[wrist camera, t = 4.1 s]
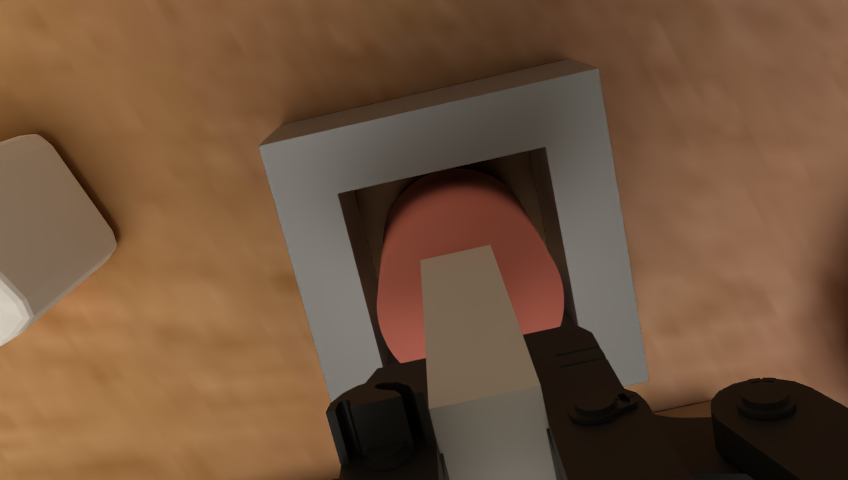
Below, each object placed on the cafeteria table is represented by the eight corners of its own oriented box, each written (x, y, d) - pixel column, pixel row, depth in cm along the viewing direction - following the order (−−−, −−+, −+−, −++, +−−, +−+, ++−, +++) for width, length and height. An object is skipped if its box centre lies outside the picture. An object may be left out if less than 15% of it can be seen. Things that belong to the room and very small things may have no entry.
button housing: (281, 124, 22) (258, 146, 19) (569, 58, 22) (598, 68, 19) (352, 385, 24) (343, 445, 21) (615, 328, 24) (649, 381, 21)
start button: (368, 187, 22) (356, 238, 17) (515, 153, 22) (545, 196, 17) (402, 323, 23) (400, 408, 18) (542, 292, 23) (578, 370, 18)
